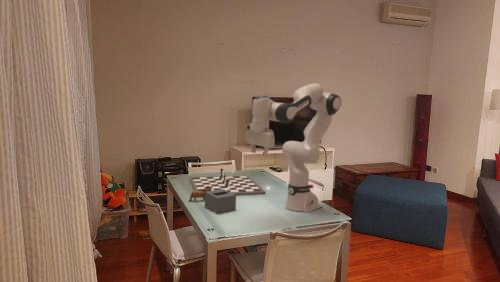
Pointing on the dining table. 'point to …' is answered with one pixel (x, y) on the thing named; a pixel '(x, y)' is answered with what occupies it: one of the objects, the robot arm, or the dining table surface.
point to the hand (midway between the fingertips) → (259, 154)
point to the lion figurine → (199, 193)
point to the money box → (220, 201)
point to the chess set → (227, 184)
